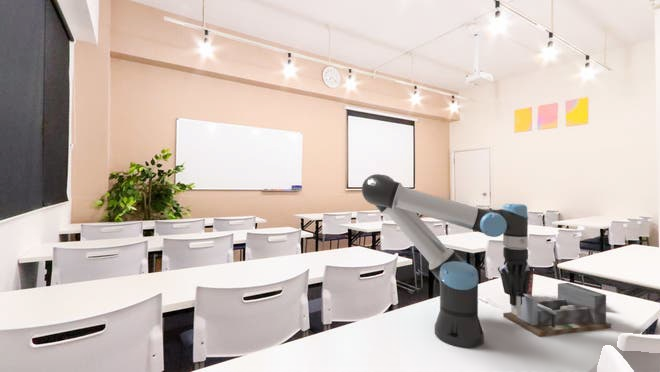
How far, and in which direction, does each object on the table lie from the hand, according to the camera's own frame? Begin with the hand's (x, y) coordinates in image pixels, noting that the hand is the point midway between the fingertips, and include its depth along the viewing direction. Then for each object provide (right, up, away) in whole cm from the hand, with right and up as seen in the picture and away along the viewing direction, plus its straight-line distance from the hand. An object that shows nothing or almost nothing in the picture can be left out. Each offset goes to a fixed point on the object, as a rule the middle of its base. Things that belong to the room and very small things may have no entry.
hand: (516, 313), depth 110 cm
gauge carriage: (+8, -3, 0) cm, 9 cm away
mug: (+18, -5, +29) cm, 34 cm away
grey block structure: (+17, -5, +4) cm, 18 cm away
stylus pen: (+2, -5, +21) cm, 22 cm away
